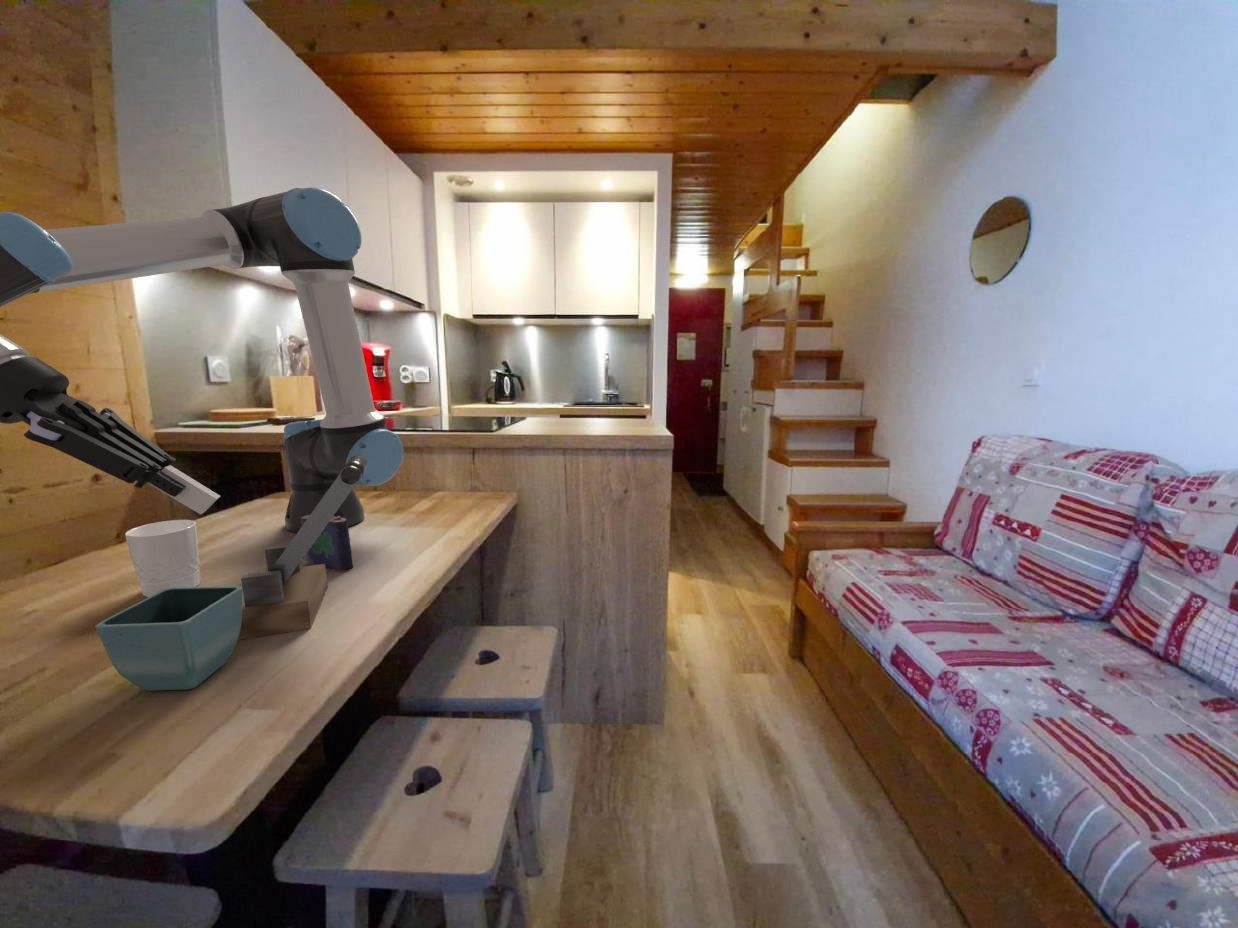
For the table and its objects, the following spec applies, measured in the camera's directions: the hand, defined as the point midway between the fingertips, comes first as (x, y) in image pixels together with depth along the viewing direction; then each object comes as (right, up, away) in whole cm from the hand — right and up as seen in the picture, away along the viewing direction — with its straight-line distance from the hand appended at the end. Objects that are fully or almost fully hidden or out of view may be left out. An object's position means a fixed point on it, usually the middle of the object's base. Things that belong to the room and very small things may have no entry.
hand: (210, 505), depth 63 cm
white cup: (-17, -14, +12) cm, 25 cm away
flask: (+3, -13, +21) cm, 25 cm away
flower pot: (+5, -19, -9) cm, 21 cm away
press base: (+5, -16, +5) cm, 17 cm away
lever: (+5, -11, +4) cm, 13 cm away
